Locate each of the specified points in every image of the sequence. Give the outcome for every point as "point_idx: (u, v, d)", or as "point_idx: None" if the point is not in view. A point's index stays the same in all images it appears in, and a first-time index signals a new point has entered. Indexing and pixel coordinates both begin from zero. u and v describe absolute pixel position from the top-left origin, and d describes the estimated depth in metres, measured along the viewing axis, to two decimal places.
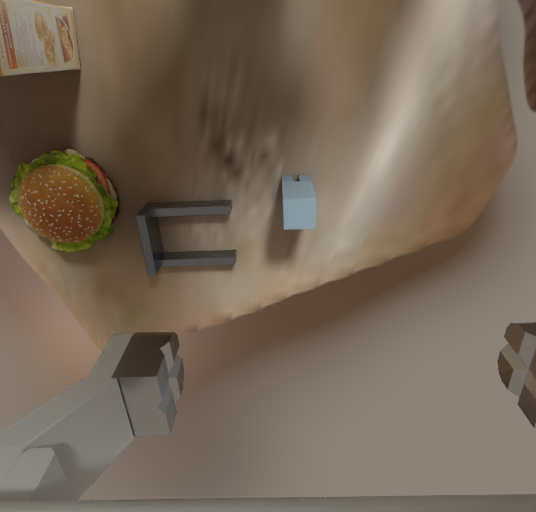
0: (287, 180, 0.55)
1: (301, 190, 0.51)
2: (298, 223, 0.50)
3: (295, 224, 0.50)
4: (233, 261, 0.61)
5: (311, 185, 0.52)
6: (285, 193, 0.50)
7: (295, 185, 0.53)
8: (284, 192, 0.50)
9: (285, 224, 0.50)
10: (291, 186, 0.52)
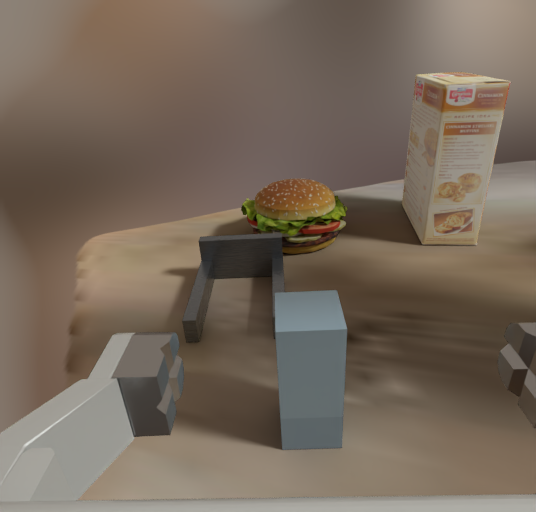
0: None
1: None
2: (287, 308, 0.24)
3: (285, 305, 0.25)
4: (187, 319, 0.36)
5: (343, 390, 0.25)
6: None
7: None
8: None
9: (285, 294, 0.26)
10: None
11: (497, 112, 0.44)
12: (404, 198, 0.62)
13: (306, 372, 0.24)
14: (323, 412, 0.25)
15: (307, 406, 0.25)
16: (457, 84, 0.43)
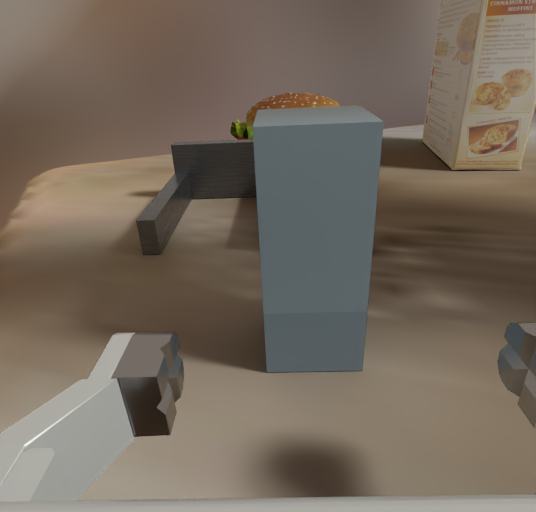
0: None
1: None
2: (277, 115, 0.14)
3: (273, 114, 0.15)
4: (144, 219, 0.26)
5: None
6: None
7: None
8: None
9: (275, 109, 0.16)
10: None
11: None
12: (426, 130, 0.52)
13: (307, 220, 0.14)
14: (335, 301, 0.15)
15: (308, 290, 0.15)
16: None
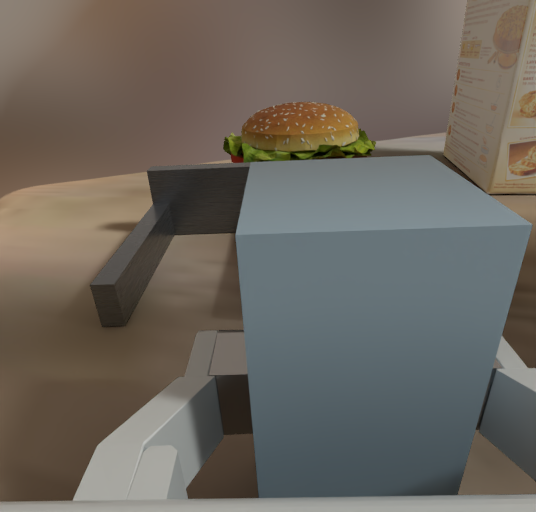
0: None
1: None
2: (286, 185, 0.07)
3: (280, 179, 0.08)
4: (100, 282, 0.20)
5: None
6: None
7: None
8: None
9: (281, 163, 0.09)
10: None
11: None
12: (449, 143, 0.46)
13: (347, 399, 0.07)
14: None
15: None
16: None
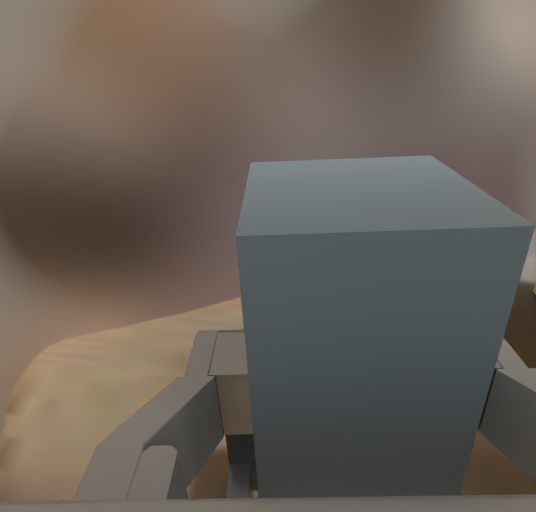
0: None
1: None
2: (287, 185, 0.07)
3: (280, 180, 0.08)
4: None
5: None
6: None
7: None
8: None
9: (282, 163, 0.09)
10: None
11: None
12: None
13: (348, 400, 0.07)
14: None
15: None
16: None
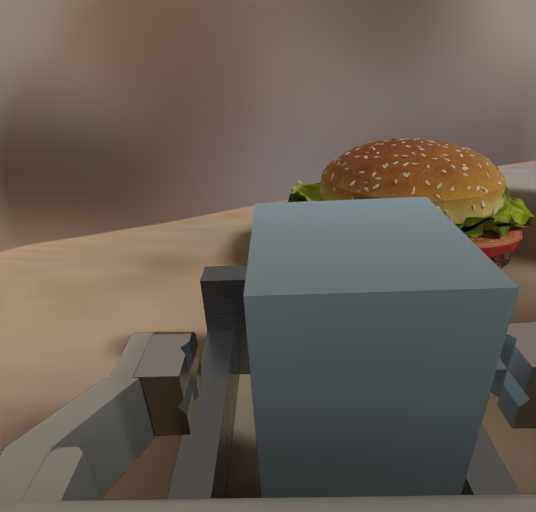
0: None
1: None
2: (290, 234, 0.08)
3: (283, 226, 0.08)
4: None
5: None
6: None
7: None
8: None
9: (284, 205, 0.09)
10: None
11: None
12: None
13: (347, 438, 0.07)
14: None
15: None
16: None
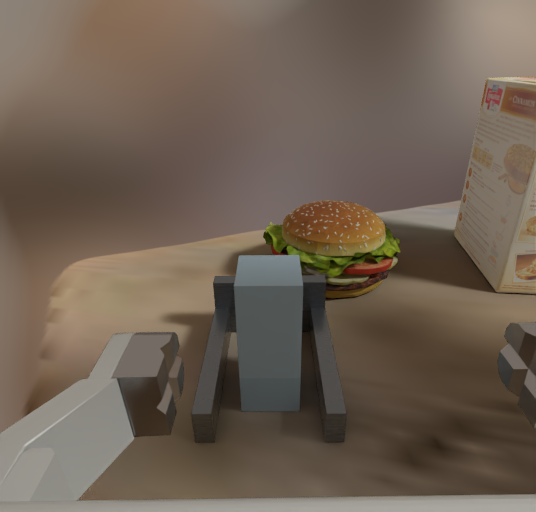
0: None
1: None
2: (249, 268, 0.25)
3: (247, 265, 0.25)
4: (199, 411, 0.24)
5: None
6: None
7: None
8: None
9: (249, 256, 0.27)
10: None
11: None
12: (459, 228, 0.51)
13: (263, 330, 0.25)
14: (281, 372, 0.26)
15: (265, 365, 0.26)
16: None
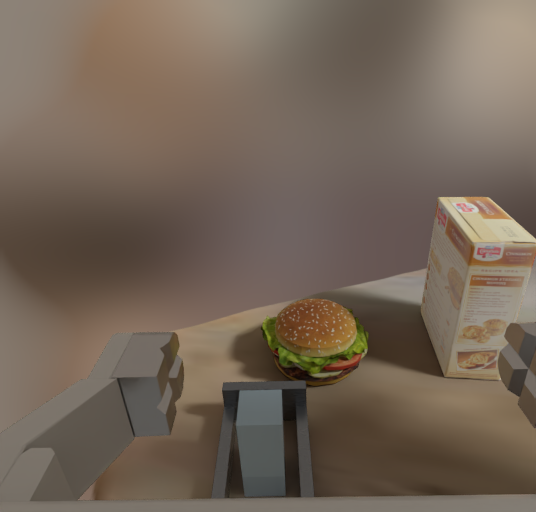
0: None
1: None
2: (246, 405, 0.37)
3: (245, 402, 0.37)
4: None
5: (284, 459, 0.37)
6: (282, 409, 0.39)
7: None
8: (282, 410, 0.39)
9: (246, 392, 0.38)
10: (283, 435, 0.39)
11: (525, 268, 0.43)
12: (423, 309, 0.62)
13: (257, 449, 0.36)
14: (271, 473, 0.38)
15: (260, 469, 0.37)
16: (485, 242, 0.43)
